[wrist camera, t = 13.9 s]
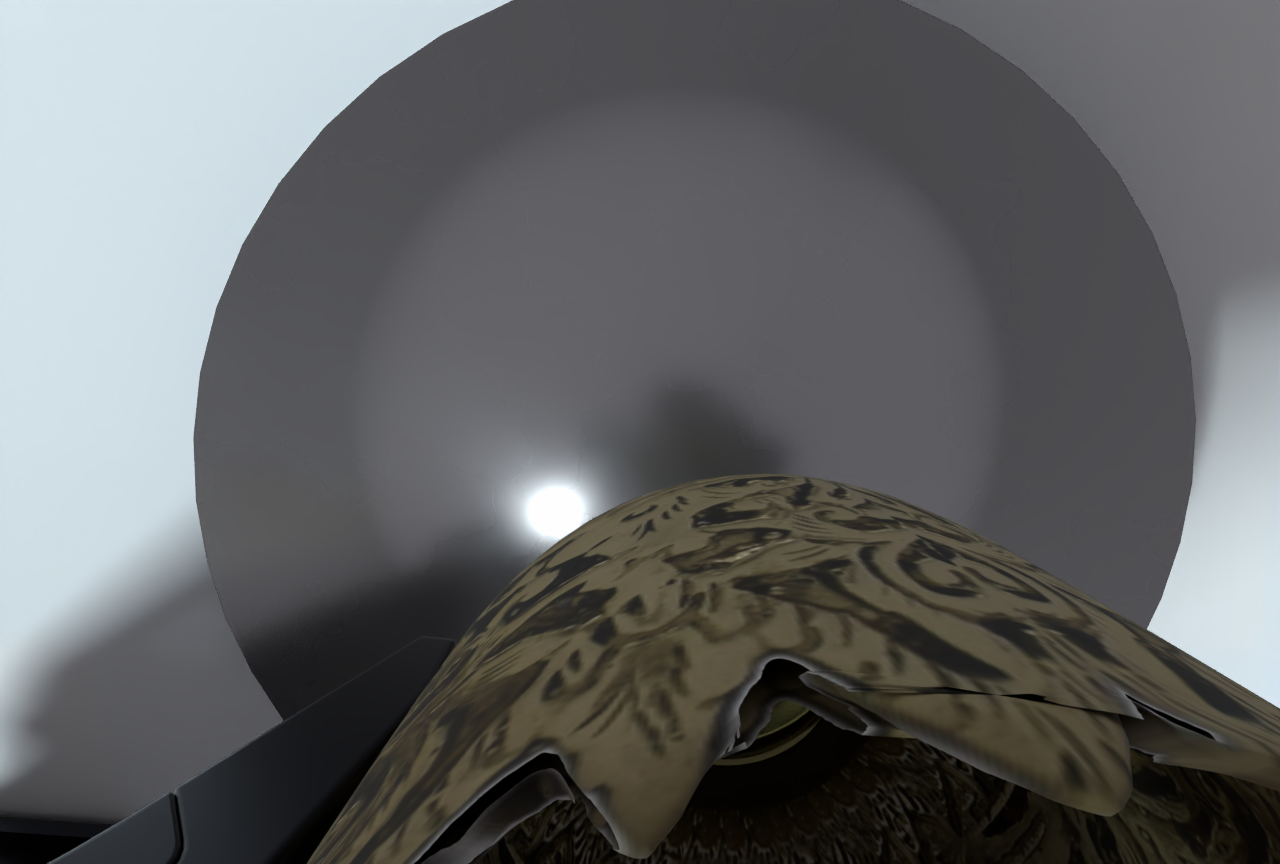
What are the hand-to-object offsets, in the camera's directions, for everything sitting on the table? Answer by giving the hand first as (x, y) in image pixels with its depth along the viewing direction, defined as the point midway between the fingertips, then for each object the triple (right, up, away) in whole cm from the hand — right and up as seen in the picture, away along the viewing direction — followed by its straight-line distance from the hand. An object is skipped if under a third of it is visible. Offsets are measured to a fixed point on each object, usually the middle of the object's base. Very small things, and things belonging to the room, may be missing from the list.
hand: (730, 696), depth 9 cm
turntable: (0, +2, +6) cm, 6 cm away
